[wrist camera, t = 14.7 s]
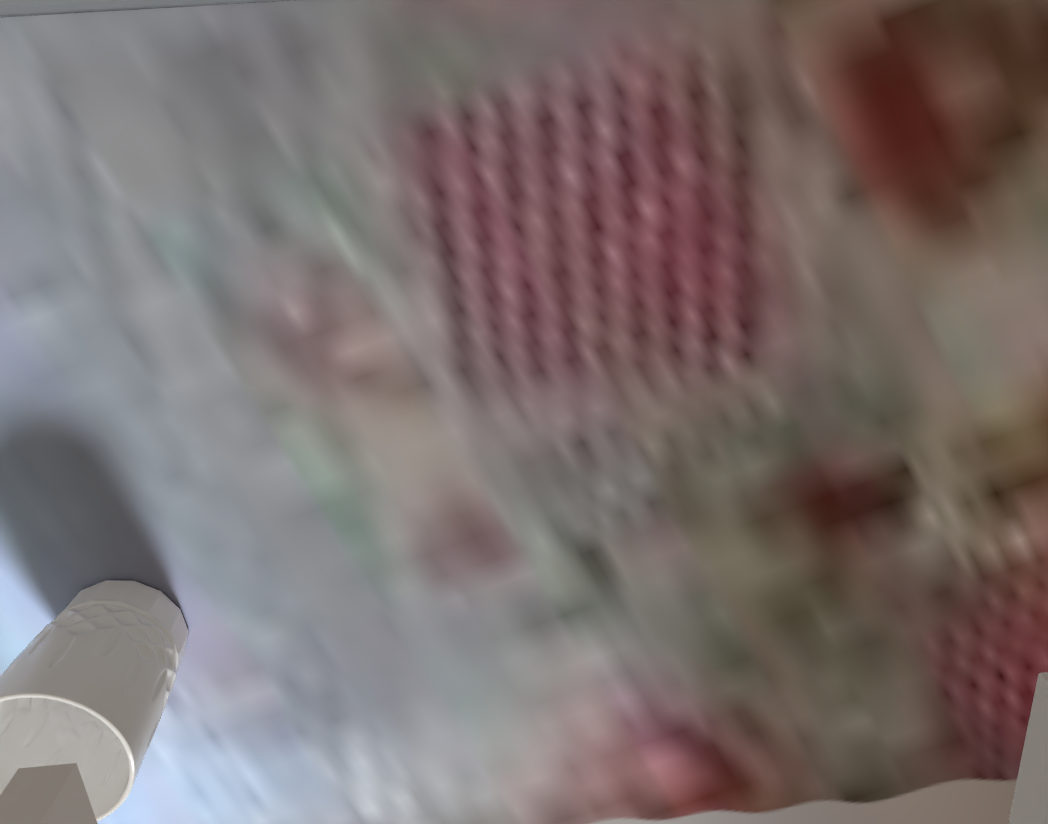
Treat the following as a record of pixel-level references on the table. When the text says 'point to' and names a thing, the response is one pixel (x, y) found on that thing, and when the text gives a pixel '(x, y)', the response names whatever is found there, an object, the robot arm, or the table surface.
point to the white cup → (93, 688)
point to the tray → (99, 5)
